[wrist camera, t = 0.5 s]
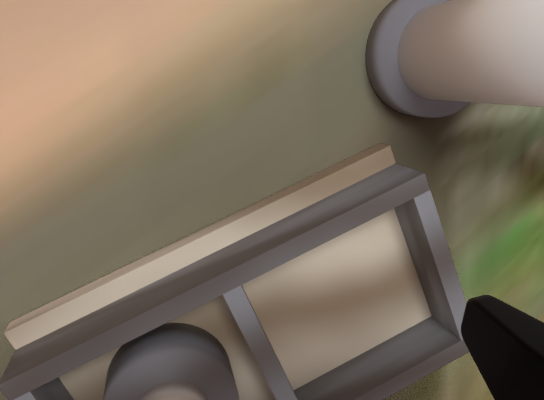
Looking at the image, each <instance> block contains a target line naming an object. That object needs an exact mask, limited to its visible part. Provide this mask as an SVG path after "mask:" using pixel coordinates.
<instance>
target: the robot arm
mask: <svg viewBox="0 0 544 400" xmlns="http://www.w3.org/2000/svg"><path fill="white" fill-rule="evenodd" d="M461 335H462V338H463V340H464V342H465V344H466V346H467V348H468V350H469V352H470V354H471V356H472V357H473V359H474V361H475V363H476V365H477V367H478V369H479V371H480V373H481V375H482V377H483V378H484V380H485V382H486V384H487V386H488V388H489V390H490V392H491V394H492V396H493V397H494V399H495V400H544V323H543V322H541V321H539V320H537V319H535V318H534V317H532V316H530V315H528V314H526V313H524V312H522V311H520V310H518V309H516V308H514V307H512V306H510V305H508V304H506V303H505V302H503V301H501V300H499V299H497V298H495V297H493V296H490V295H483V296H479V297H475V298H471V299H469V300H468V301H467V303H466V306H465V311H464V315H463V319H462V323H461Z"/></svg>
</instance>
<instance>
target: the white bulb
mask: <svg viewBox="0 0 544 400" xmlns="http://www.w3.org/2000/svg"><path fill="white" fill-rule="evenodd" d="M366 69H367V73H368V77H369V80H370V83H371V85H372V87H373V89H374V91H375V92H376V94H377V95H378V97H379V98H380V99H381V100H382V101H383V102H384V103H385V104H386V105H387V106H389V107H390V108H392V109H394V110H395V111H397V112H400V113H403V114H407V115H413V116H420V117H428V118H438V117H444V116H448V115H451V114H454V113H456V112H458V111H460V110H461V109H463V108H465V107H466V106H467V105H469V104H470V103H471V102H477V103H492V104H506V105H521V106H536V107H544V0H393V1H392V2H390V3H389V4H388V5H387V6H386V7H385V8H384V9H383V10H382V12H381V13H380V14H379V15H378V17H377V19H376V20H375V22H374V24H373V26H372V28H371V30H370V33H369V36H368V40H367V45H366Z"/></svg>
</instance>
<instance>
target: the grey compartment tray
mask: <svg viewBox="0 0 544 400" xmlns="http://www.w3.org/2000/svg"><path fill="white" fill-rule="evenodd" d="M465 306H466V300H465V297H464V294H463V291H462V288H461V285H460V282H459V278H458V275H457V272H456V269H455V266H454V263H453V260H452V257H451V253H450V250H449V247H448V244H447V241H446V238H445V235H444V231H443V228H442V225H441V222H440V219H439V216H438V213H437V209H436V206H435V203H434V200H433V197H432V194H431V191H430V188H429V184H428V181H427V178H426V175H425V173H423V172H420V171H417V170H415V169H412V168H409V167H406V166H403V165H400V164H397V163H396V162H395V159H394V156H393V153H392V150H391V147H390V145H386V144H382V143H379V144H377V145H375V146H373V147H371V148H369V149H367V150H365V151H362V152H360V153H358V154H356V155H354V156H352V157H350V158H348V159H346V160H344V161H342V162H340V163H338V164H336V165H334V166H331V167H329V168H327V169H325V170H323V171H321V172H319V173H317V174H315V175H313V176H311V177H309V178H307V179H305V180H302V181H300V182H298V183H296V184H294V185H292V186H290V187H288V188H286V189H284V190H282V191H280V192H278V193H276V194H274V195H271V196H269V197H267V198H265V199H263V200H261V201H259V202H257V203H255V204H253V205H251V206H249V207H247V208H245V209H242V210H240V211H238V212H236V213H234V214H232V215H230V216H228V217H226V218H224V219H222V220H220V221H218V222H216V223H214V224H211V225H209V226H207V227H205V228H203V229H201V230H199V231H197V232H195V233H193V234H191V235H189V236H187V237H185V238H182V239H180V240H178V241H176V242H174V243H172V244H170V245H168V246H166V247H164V248H162V249H160V250H158V251H156V252H154V253H151V254H149V255H147V256H145V257H143V258H141V259H139V260H137V261H135V262H133V263H131V264H129V265H127V266H125V267H122V268H120V269H118V270H116V271H114V272H112V273H110V274H108V275H106V276H104V277H102V278H100V279H98V280H96V281H94V282H91V283H89V284H87V285H85V286H83V287H81V288H79V289H77V290H75V291H73V292H71V293H69V294H67V295H65V296H62V297H60V298H58V299H56V300H54V301H52V302H50V303H48V304H46V305H44V306H42V307H40V308H38V309H36V310H34V311H31V312H29V313H27V314H25V315H23V316H21V317H19V318H17V319H15V320H13V321H11V322H10V323H9V325H8V327H7V328H6V330H5V332H4V334H5V336H6V337H7V339H8V340H9V341H10V343H11V344H12V346H13V347H14V348H15V352H14V354H13V356H12V358H11V360H10V362H9V364H8V366H7V368H6V370H5V372H4V374H3V376H2V378H1V380H0V390H1V391H2V392H3V394H4V395H5V396H6V398H7V399H8V400H383V399H385V398H387V397H389V396H391V395H392V394H394V393H396V392H398V391H400V390H401V389H403V388H405V387H407V386H409V385H410V384H412V383H414V382H416V381H418V380H419V379H421V378H423V377H425V376H427V375H428V374H430V373H432V372H434V371H436V370H437V369H439V368H441V367H443V366H445V365H447V364H448V363H450V362H452V361H454V360H456V359H457V358H459V357H461V356H463V355H465V354H466V353H468V352H469V350H468V348H467V346H466V344H465V342H464V340H463V338H462V335H461V323H462V319H463V315H464V311H465Z"/></svg>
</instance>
